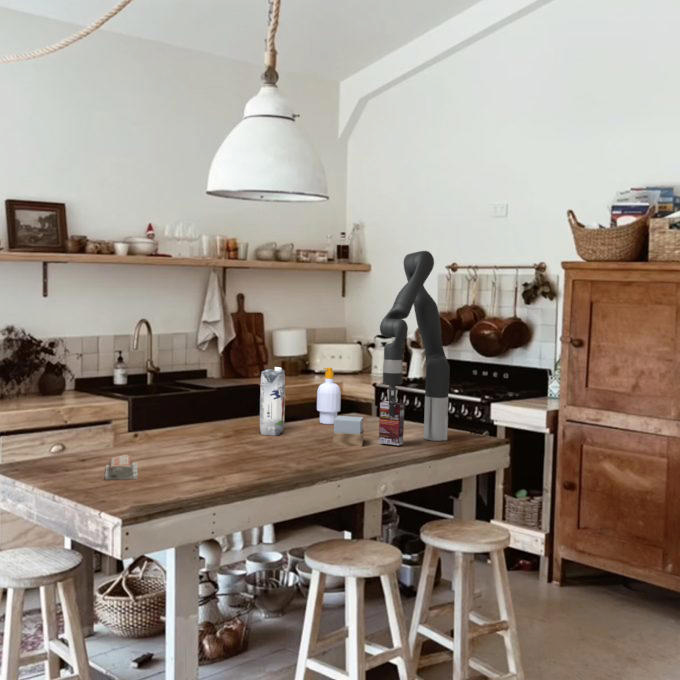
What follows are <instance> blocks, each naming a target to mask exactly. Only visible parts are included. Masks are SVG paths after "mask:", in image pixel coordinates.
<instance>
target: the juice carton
mask: <svg viewBox="0 0 680 680" xmlns="http://www.w3.org/2000/svg"><path fill="white" fill-rule="evenodd" d="M285 374H286V373H285V369H283V368H282V367H280V366H279V367H278V366H274V369H273V368H272V369H271V368H270V369H267V368H266V369H265V370H262V371H261V374H260V386H259V387H260V389H259V390H260V395H259V397H260V398H259V429H260V430H259V431H260V434H261V435H262V436H280V434H282V432H283V431H284V427H285V412H286V411H285V408H286V407H285V405H286V404H285V403H286V401H285V400H286V375H285Z"/></svg>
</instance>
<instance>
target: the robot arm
mask: <svg viewBox="0 0 680 680" xmlns="http://www.w3.org/2000/svg"><path fill="white" fill-rule="evenodd" d="M434 266H435V259H434V256H433V254H432V252H430V251H428V250H420V251H415V252H411V253H407V254H406V255H405V256H404V258H403V269H404V273H405V276H406V280H407V283H405V285H403V287H402V288H401V289H400V290H399V292H398V293H397V295H396V297H395V300H394V302H393V305H392V307H391V308H390V310H389V311H388V312H387V313H386V314H385V316H384V317H383V318H382V320H381V323H380V324H379V333H380V335H381V336H383V337H386V338H394V341H393V342H390V343H386V344H385V345H384V347H383V365H382V383H383V384H385V385H388V387H387V388H386V389H387V390H386V393H387V401H389V416H395V406H396V403H395V402H397V399H398V396H397V395H398V392H399V391H398V390H399V389H398V387H396V386H397V385H402V384H403V374H404V373H403V371H404V364H403V363H404V362H403V349H404V345H405V341H406V338H407V335H408V332H409V330H408V328H409V326H408V324H407V321H405V320H404V319H406V318H408V317H409V316H410V313H411V311H412V308H414V315H415V319H416V324H417V328H418V332H419V334H420V338H421V340H422V343H423V347H424V355H425V356H424V357H425V392H424V418H423V420H424V421H423V439H424V440H427V441H432V442H433V441H435V442H436V441H437V442H439V441H440V442H441V441H448V429H449V427H448V425H449V415H448V413H449V392H450V391H449V390H450V375H451V374H450V371H451V368H450V364H449V362H448V360H447V359H448V358H447V356H446V353H445V351H444V347H443V341H442V340H443V339H442V325H441V319H440V312H439V308H438V304H437V302H435V301H436V300H434V298H433V297H432V296H431V295H430V294H429V293H428V291H427V289H426V288H425V286H424V285H425V282H426V281H427V279H428V278H429V276H430V274H431V273H432V271H433V270H434Z"/></svg>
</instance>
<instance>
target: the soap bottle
mask: <svg viewBox="0 0 680 680" xmlns="http://www.w3.org/2000/svg"><path fill="white" fill-rule="evenodd" d="M322 370H326V371H325V373H324V376H325V377H324V382H323V383H321V384H320V385H318V388H317V392H316V393H317V394H316V410H317V411H318V412H319V423H320V424H321V423H322V424H321V425H334V420H335V418H336V417H337V416H338V413H339V412H341V402H342V401H341V399H342V395H341V394H342V392H341V388H340V386H339V385H338V384H337V383H334V371H333V368H332V367H323V369H322Z"/></svg>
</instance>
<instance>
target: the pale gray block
mask: <svg viewBox="0 0 680 680" xmlns="http://www.w3.org/2000/svg"><path fill="white" fill-rule="evenodd" d="M362 430H364V417H363V416H350V415H349V416H348V415H337V417H336V418H335V420H334V424H333V433H343V434H361V432H362Z"/></svg>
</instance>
